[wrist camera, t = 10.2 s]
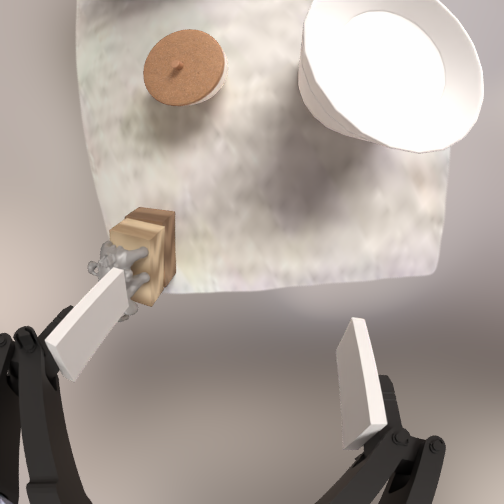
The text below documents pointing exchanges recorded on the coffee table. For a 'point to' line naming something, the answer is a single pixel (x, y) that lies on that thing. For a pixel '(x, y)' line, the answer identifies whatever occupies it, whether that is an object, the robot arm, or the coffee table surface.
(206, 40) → the lidded jar
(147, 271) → the light wooden block
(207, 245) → the coffee table surface
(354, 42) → the canister
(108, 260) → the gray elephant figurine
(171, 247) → the tower base
